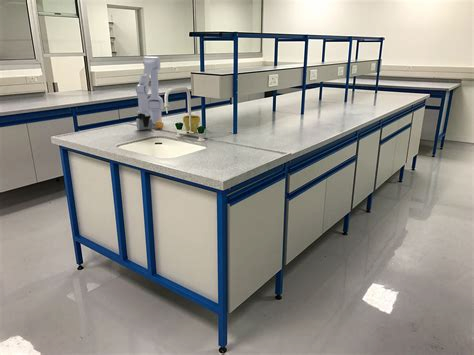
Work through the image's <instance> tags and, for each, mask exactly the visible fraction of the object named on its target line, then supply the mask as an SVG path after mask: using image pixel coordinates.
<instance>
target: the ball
mask: <svg viewBox="0 0 474 355" xmlns="http://www.w3.org/2000/svg"><path fill="white" fill-rule="evenodd" d="M163 123H164V122H163V120H162V121H157V122H156V124H154V125H155V128H157V129H159V128H160V129H162V128H163V127H164V124H163Z"/></svg>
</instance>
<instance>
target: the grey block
mask: <svg viewBox="0 0 474 355" xmlns="http://www.w3.org/2000/svg"><path fill="white" fill-rule="evenodd" d="M135 121H136V122H135V123H136V129H138V130H139V131H143V130H153V126H154V125H153V124H152V119H149V124H148V127H144V123H143V119H142V118H141V119H139V118H136V119H135Z"/></svg>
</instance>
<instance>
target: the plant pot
mask: <svg viewBox="0 0 474 355" xmlns="http://www.w3.org/2000/svg"><path fill="white" fill-rule="evenodd" d="M190 115H191V114H190ZM182 121H183V123H184V127H185V131H186V132H187V131H189V130H190V126H189V116H188V115H184V116H182ZM200 122H201V116H200V115H195V114H193V115H191V131H192V132H197V127H198V128H199V125H200ZM197 133H198V132H197Z"/></svg>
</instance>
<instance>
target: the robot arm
mask: <svg viewBox="0 0 474 355" xmlns="http://www.w3.org/2000/svg"><path fill="white" fill-rule="evenodd" d="M142 64H143V67H144V69H143V73H142V74H141V75H140V78H139V80H138V81H139V82H138V84H137V85H136V87H135V92H136V97H137V102H138V111H136V113H137V114H136V115H137V116H138V119H141V118H142V119H143V123H144V127H148V124H149V119H152V125H155V124H156V122H157V121H162V122H163V119H162V110H163V109H164V105H165V104H164V100H163V97H161V96H160V95H159V71H160V70H161V59H160V57H159V56H143V58H142ZM149 84H150V86H149ZM149 88H150V95H151V96H148V94H149Z"/></svg>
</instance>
